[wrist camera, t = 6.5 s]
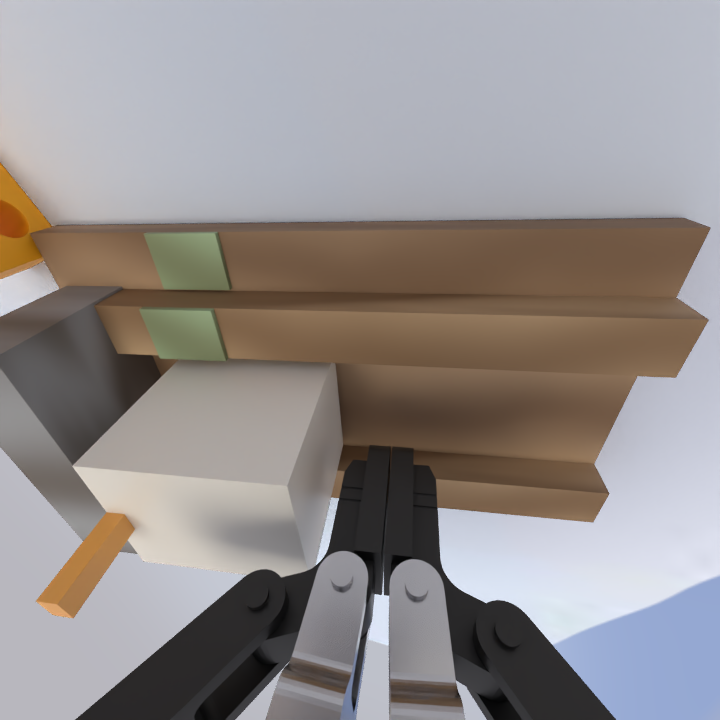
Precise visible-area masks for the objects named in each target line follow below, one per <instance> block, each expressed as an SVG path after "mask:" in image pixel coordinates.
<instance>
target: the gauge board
mask: <svg viewBox="0 0 720 720" xmlns="http://www.w3.org/2000/svg"><path fill="white" fill-rule="evenodd" d="M709 230H710V227H707V226H705V225H702V224H699V223H696V222H694V221H691V220H688V219H685V218H641V219H555V220H469V221H383V222H297V223H211V224H125V225H57V226H53V227H50V228H46V229H43V230H39V231H36V232H32V233H30V235H31V237H32V239H33V241H34V242H35V244H36V246H37V248H38V250H39V252H40V253H41V255H42V257H43V259H44V261H45V263H46V264H47V266H48V268H49V270H50V272H51V274H52V275H53V277H54V279H55V281H56V283H57V285H58V286H59V288H60V289H59V290H57V291H55V292H52V293H50V294H48V295H46V296H44V297H42V298H40V299H37V300H35V301H33V302H31V303H29V304H27V305H25V306H23V307H20V308H18V309H16V310H14V311H12V312H10V313H8V314H6V315H3V316H1V317H0V447H1V448H2V449H3V451H4V452H5V453H6V454H7V455H8V456H9V457H10V458H11V460H12V461H13V462H14V463H15V464H16V465H17V466H18V468H19V469H20V470H21V471H22V472H23V473H24V474H25V475H26V477H27V478H28V479H29V480H30V481H31V482H32V483H33V484H34V486H35V487H36V488H37V489H38V490H39V491H40V493H41V494H42V495H43V496H44V497H45V498H46V499H47V501H48V502H49V503H50V504H51V505H52V506H53V507H54V509H56V511H57V512H58V513H59V514H60V515H61V516H62V518H63V519H64V520H65V521H66V522H67V523H68V524H69V526H71V528H72V529H73V530H74V531H75V532H76V533H77V535H78V536H79V537H80V538H81V539H82V540H83V541H84V540H85V539H86V538H87V536H88V535H89V534H90V532H91V531H92V530H93V529H94V527H95V526H96V525H97V524H98V522H99V521H100V520H101V519H102V517H103V516H104V515H105V514H106V511H105V509H104V508H103V507H102V505H101V504H100V503H99V501H98V500H97V499H96V497H95V496H94V495H93V493H92V492H91V491H90V489H89V488H88V487H87V485H86V484H85V483H84V481H83V480H82V479H81V477H80V476H79V475H78V473H77V472H76V471H75V469H74V468H73V467H72V466H73V465H74V464H75V463H76V462H77V461H78V460H79V459H80V458H81V457H82V456H83V455H84V454H85V453H86V452H87V451H88V450H89V449H90V448H91V447H92V446H93V445H94V444H95V443H96V442H97V441H98V440H99V439H100V438H101V437H102V436H103V435H104V434H105V433H106V432H107V431H108V430H109V429H110V428H111V427H112V426H113V425H114V424H115V423H116V422H117V421H118V420H119V419H120V418H121V417H122V416H123V415H124V414H125V413H126V412H127V411H128V410H129V409H130V408H131V407H132V406H133V405H134V404H135V403H136V402H137V401H138V400H139V399H140V398H141V397H142V396H143V395H144V394H145V393H146V392H147V391H148V390H149V389H150V388H151V387H152V386H153V385H154V384H155V383H156V382H157V381H158V380H159V379H160V378H161V377H162V376H163V375H164V374H165V373H166V372H167V371H168V370H169V369H170V368H171V367H172V366H173V365H174V364H175V363H176V362H177V361H178V360H179V359H183V360H205V361H227V360H228V358H232V359H255V360H278V361H301V362H324V363H335V364H336V374H337V384H338V395H339V405H340V415H341V426H342V436H343V447H342V452H341V456H340V460H339V465H338V469H337V474H336V478H335V482H334V487H333V491H332V495H331V497H333V498H339V496H340V491H341V488H342V482H343V477H344V472H345V470H346V469H347V468H348V466H349V465H350V463H351V462H352V461H353V460H364V461H367V457H368V451H369V446H370V445H379V446H391V457H392V446H394V447H407V448H414V460H413V464H415V465H427V466H429V467H430V469H431V471H432V473H433V475H434V476H435V478H436V488H437V507H438V508H448V509H458V510H469V511H479V512H490V513H500V514H511V515H521V516H532V517H542V518H553V519H563V520H574V521H584V522H594V520H595V518H596V516H597V515H598V513H599V511H600V509H601V508H602V506H603V504H604V502H605V501H606V499H607V497H608V495H609V492H608V490H607V488H606V486H605V484H604V482H603V480H602V478H601V476H600V475H599V473H598V471H597V469H596V467H595V465H594V463H595V461H596V459H597V457H598V455H599V453H600V451H601V449H602V447H603V445H604V443H605V441H606V439H607V437H608V435H609V433H610V430H611V428H612V426H613V424H614V422H615V420H616V418H617V416H618V414H619V412H620V410H621V408H622V406H623V404H624V402H625V400H626V398H627V396H628V394H629V392H630V390H631V388H632V386H633V384H634V382H635V380H636V378H637V376H649V377H672V378H676V376H677V375H678V373H679V371H680V369H681V368H682V366H683V364H684V362H685V361H686V359H687V357H688V355H689V354H690V352H691V350H692V348H693V347H694V345H695V343H696V341H697V340H698V338H699V336H700V334H701V333H702V331H703V329H704V327H705V326H706V324H707V322H708V319H707V318H705V317H704V316H702V315H701V314H699V313H698V312H697V311H695V310H694V309H692V308H691V307H689V306H688V305H686V304H685V303H683V302H682V301H680V300H679V299H678V298H676V297H677V295H678V293H679V291H680V289H681V287H682V285H683V283H684V281H685V279H686V277H687V275H688V273H689V271H690V269H691V267H692V265H693V263H694V261H695V259H696V257H697V255H698V252H699V250H700V248H701V246H702V244H703V242H704V240H705V238H706V236H707V234H708V232H709ZM390 470H391V467H390ZM120 552H128V553H135V554H138V553H137V552H136V551H135V549H134V548H133V547H132V545H131V544H130V543H129V541H128V540H127V542H126V543H125V545H124V546H123V547H122V549H121V550H120Z"/></svg>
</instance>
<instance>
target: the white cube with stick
mask: <svg viewBox="0 0 720 720" xmlns="http://www.w3.org/2000/svg"><path fill="white" fill-rule="evenodd" d="M342 447H343V436H342V426H341V415H340V405H339V395H338V384H337V374H336V364H335V363H324V362H301V361H278V360H255V359H232V358H228V360H227V361H205V360H183V359H179V360H178V361H177V362H176V363H175V364H174V365H173V366H172V367H171V368H170V369H169V370H168V371H167V372H166V373H165V374H164V375H163V376H162V377H161V378H160V379H159V380H158V381H157V382H156V383H155V384H154V385H153V386H152V387H151V388H150V389H149V390H148V391H147V392H146V393H145V394H144V395H143V396H142V397H141V398H140V399H139V400H138V401H137V402H136V403H135V404H134V405H133V406H132V407H131V408H130V409H129V410H128V411H127V412H126V413H125V414H124V415H123V416H122V417H121V418H120V419H119V420H118V421H117V422H116V423H115V424H114V425H113V426H112V427H111V428H110V429H109V430H108V431H107V432H106V433H105V434H104V435H103V436H102V437H101V438H100V439H99V440H98V441H97V442H96V443H95V444H94V445H93V446H92V447H91V448H90V449H89V450H88V451H87V452H86V453H85V454H84V455H83V456H82V457H81V458H80V459H79V460H78V461H77V462H76V463H75V464H74V465H73V466H72V467H73V468H74V469H75V471H76V472H77V473H78V475H79V476H80V477H81V479H82V480H83V481H84V483H85V484H86V485H87V487H88V488H89V489H90V491H91V492H92V493H93V495H94V496H95V497H96V499H97V500H98V501H99V503H100V504H101V505H102V507H103V508H104V509H105V511H106V514H105V515H104V516H103V517H102V519H101V520H100V521H99V522H98V524H97V525H96V526H95V527H94V529H93V530H92V531H91V532H90V534H89V535H88V536H87V538H86V539H85V540H84V541H83V543H82V544H81V545H80V547H79V548H78V549H77V550H76V551H75V553H74V554H73V555H72V557H71V558H70V559H69V560H68V562H67V563H66V564H65V565H64V566H63V568H62V569H61V570H60V571H59V573H58V574H57V576H56V577H55V578H54V579H53V580H52V582H51V583H50V584H49V585H48V587H47V588H46V589H45V590H44V592H43V593H42V594H41V595H40V597H39V598H38V599H37V601H36V602H37V603H39V604H40V605H41V606H42V607H44V608H45V609H46V610H47V611H49V612H50V613H51V614H52V615H55V616H62V617H68V618H74V617H75V615H76V614H77V612H78V611H79V610H80V608H81V607H82V605H83V604H84V602H85V601H86V599H87V598H88V597H89V595H90V594H91V592H92V591H93V589H94V588H95V586H96V585H97V584H98V582H99V581H100V579H101V578H102V576H103V575H104V573H105V572H106V570H107V569H108V568H109V566H110V565H111V563H112V562H113V560H114V559H115V557H116V556H117V555H118V553H119V552H120V550H121V549H122V547H123V546H124V545H125V543H126V542H127V540H128V541H129V543H130V544H131V545H132V547H133V548H134V549H135V551H136V552H137V553H138V555H139V556H140V557H141V559H142V560H143V561H144V562H153V563H160V564H168V565H175V566H183V567H191V568H199V569H206V570H214V571H221V572H229V573H238V574H244V575H248V574H250V573H251V572H253V571H256V570H260V569H268V570H272V571H274V572H276V573H277V574H278V575H279V576H280V577H285V576H289V575H293V574H297V573H301V572H305V571H307V570H309V569H312V568H313V567H315V565H316V560H317V556H318V552H319V547H320V543H321V539H322V534H323V530H324V526H325V521H326V517H327V513H328V508H329V504H330V500H331V495H332V491H333V487H334V482H335V478H336V474H337V469H338V465H339V460H340V456H341V452H342Z"/></svg>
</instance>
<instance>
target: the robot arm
mask: <svg viewBox="0 0 720 720" xmlns="http://www.w3.org/2000/svg"><path fill="white" fill-rule="evenodd" d="M413 460H414V448H407V447H394V446H392V457H391V446H379V445H370V446H369V451H368V457H367V461H364V460H353V461H352V462H351V463H350V465H349V466H348V468H347V469H346V470H345V472H344V477H343V482H342V488H341V491H340V496H339V501H338V506H337V511H336V515H335V520H334V525H333V530H332V535H331V539H330V544H329V548H328V550H327V553H326V555H325V556H324V558H323V559H322V560H321V561H320V562H319V563H318V564H317V565H316V566H315V567H313V568H312V569H309V570H307V571H305V572H301V573H297V574H293V575H289V576H285V577H280V576H279V575H278V574H277V573H276V572H274V571H272V570H268V569H260V570H256V571H253V572H251V573H250V574H248V575H247V576H245V577H244V578H243V579H242V580H241V581H239V582H238V583H237V584H236V585H234V586H233V587H232V588H231V589H230V590H229V591H227V592H226V593H225V594H224V595H223V596H221V597H220V598H219V599H218V600H217V601H216V602H214V603H213V604H212V605H211V606H210V607H208V608H207V609H206V610H205V611H204V612H203V613H201V614H200V615H199V616H198V617H197V618H195V619H194V620H193V621H192V622H191V623H189V624H188V625H187V626H186V627H185V628H183V629H182V630H181V631H180V632H179V633H178V634H176V635H175V636H174V637H173V638H172V639H171V640H169V641H168V642H167V643H166V644H164V645H163V646H162V647H161V648H160V649H159V650H157V651H156V652H155V653H154V654H153V655H151V656H150V657H149V658H148V659H147V660H146V661H144V662H143V663H142V664H141V665H140V666H138V667H137V668H136V669H135V670H134V671H132V672H131V673H130V674H129V675H128V676H127V677H125V678H124V679H123V680H122V681H121V682H120V683H118V684H117V685H116V686H115V687H114V688H112V689H111V690H110V691H109V692H108V693H106V694H105V695H104V696H103V697H102V698H100V699H99V700H98V701H97V702H96V703H95V704H93V705H92V706H91V707H90V708H89V709H88V710H86V711H85V712H84V713H83V714H82V715H80V716H79V717H78V718H77V719H76V720H235V719H236V718H237V717H238V716H239V715H240V714H241V713H242V712H243V711H244V710H245V708H246V707H247V706H248V705H249V704H250V703H251V702H252V701H253V700H254V699H255V698H256V697H257V695H259V693H260V692H261V691H262V690H263V689H264V688H265V687H266V686H267V685H268V684H269V683H270V682H271V680H272V679H273V678H274V677H275V676H276V675H277V674H278V673H279V672H280V671H281V670H282V669H283V668H284V666H285V665H286V664H287V663H288V662H289V661H290V662H289V663H288V665H287V666H286V667H285V668H284V670H283V671H282V673H281V675H280V677H279V680H278V682H277V685H276V688H275V691H274V694H273V697H272V701H271V704H270V707H269V710H268V713H267V717H266V720H356V714H357V707H358V700H359V693H360V688H361V681H362V675H363V669H364V663H365V655H366V650H367V644H368V637H369V631H370V625H371V622H372V615H373V604H374V594H379V595H382V585H383V572H384V595H388V596H389V720H465V715H464V709H463V705H462V700H461V698H460V695H459V693H458V689H457V685H456V680H457V681H458V682H460V683H462V684H463V685H465V686H466V687H467V689H468V690H469V692H470V694H471V695H472V697H473V698H474V700H475V701H476V703H477V705H478V706H479V708H480V709H481V711H482V713H483V714H484V715H485V717H486V719H487V720H616V719H615V718H614V717H613V716H612V714H611V713H610V712H609V711H608V710H607V709H606V707H605V706H604V705H603V704H602V703H601V701H600V700H599V699H598V698H597V697H596V696H595V694H594V693H593V692H592V691H591V690H590V689H589V687H588V686H587V685H586V684H585V683H584V682H583V681H582V679H581V678H580V677H579V676H578V675H577V673H576V672H575V671H574V670H573V669H572V668H571V667H570V665H569V664H568V663H567V662H566V661H565V659H564V658H563V657H562V656H561V655H560V653H559V652H558V651H557V650H556V649H555V648H554V647H553V645H552V644H551V643H550V642H549V641H548V639H547V638H546V637H545V636H544V635H543V634H542V632H541V631H540V630H539V629H538V628H537V627H536V625H535V624H534V623H533V622H532V621H531V620H530V618H529V617H528V616H527V615H526V614H525V613H524V612H523V611H522V610H521V609H519V608H518V607H517V606H515V605H513V604H511V603H509V602H506V601H500V600H496V601H491V602H488V603H485V602H482V601H480V600H478V599H476V598H474V597H472V596H470V595H468V594H466V593H464V592H463V591H461V590H459V589H458V588H457V587H456V586H454V585H453V584H452V583H451V581H450V580H449V579H448V578H447V576H446V574H445V573H444V571H443V568H442V565H441V561H440V547H439V527H438V510H437V488H436V478H435V476H434V475H433V473H432V471H431V469H430V467H429V466H427V465H415V464H413ZM390 467H391V470H390Z"/></svg>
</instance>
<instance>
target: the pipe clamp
mask: <svg viewBox="0 0 720 720" xmlns="http://www.w3.org/2000/svg"><path fill="white" fill-rule="evenodd" d="M50 227H52V226H51V224H50V223H49V222H48V221H47V220H46V218H45V217H44V216H43V215H42V213H41V212H40V211H39V210H38V208H37V207H36V206H35V205H34V203H33V202H32V201H31V200H30V199H29V197H28V196H27V195H26V194H25V192H24V191H23V190H22V189H21V187H20V186H19V185H18V184H17V183H16V181H15V180H14V179H13V178H12V176H11V175H10V174H9V173H8V171H7V170H6V169H5V168H4V166H3V165H2V164H1V163H0V279H2V278H5V277H8V276H10V275H13V274H15V273H18V272H21V271H23V270H26V269H29V268H31V267H33V266H35V265H37V264H39V263H40V262H42V261H44V259H43V257H42V255H41V253H40V252H39V250H38V248H37V246H36V244H35V242H34V241H33V239H32V237H31V235H30V233H32V232H36V231H39V230H43V229H46V228H50Z"/></svg>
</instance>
